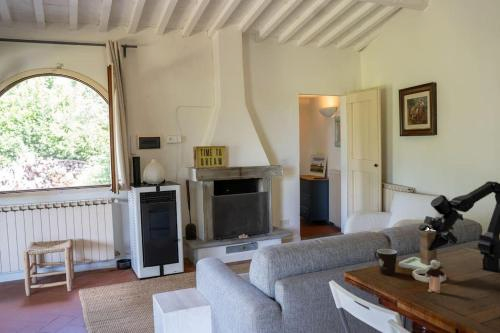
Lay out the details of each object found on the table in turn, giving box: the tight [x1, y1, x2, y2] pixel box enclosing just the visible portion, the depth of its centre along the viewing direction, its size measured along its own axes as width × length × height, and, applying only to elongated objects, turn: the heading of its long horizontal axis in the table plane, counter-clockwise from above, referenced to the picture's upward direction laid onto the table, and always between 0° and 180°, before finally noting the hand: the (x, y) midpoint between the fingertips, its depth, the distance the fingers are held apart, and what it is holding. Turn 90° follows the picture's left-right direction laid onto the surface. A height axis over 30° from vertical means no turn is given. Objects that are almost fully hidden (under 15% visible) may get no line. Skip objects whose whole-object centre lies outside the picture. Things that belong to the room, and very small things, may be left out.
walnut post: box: [419, 230, 438, 266], centre depth 174 cm, size 5×5×14 cm
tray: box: [398, 256, 441, 271], centre depth 190 cm, size 13×13×2 cm
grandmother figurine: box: [424, 260, 447, 294], centre depth 158 cm, size 8×4×13 cm, turn 68°
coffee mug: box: [374, 248, 398, 276], centre depth 184 cm, size 12×9×10 cm
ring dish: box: [411, 269, 447, 283], centre depth 174 cm, size 12×12×2 cm
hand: (425, 248), depth 173 cm, fingers closed on walnut post, 5 cm apart
